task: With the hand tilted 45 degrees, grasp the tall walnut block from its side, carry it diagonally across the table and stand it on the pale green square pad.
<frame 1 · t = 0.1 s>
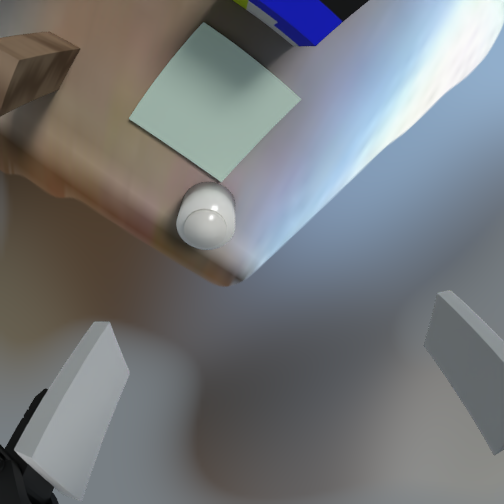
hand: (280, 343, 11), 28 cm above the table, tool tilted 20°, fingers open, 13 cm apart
walnut block: (53, 60, 23), on the table
pad: (212, 103, 30), on the table
sugar bowl: (208, 205, 39), on the table
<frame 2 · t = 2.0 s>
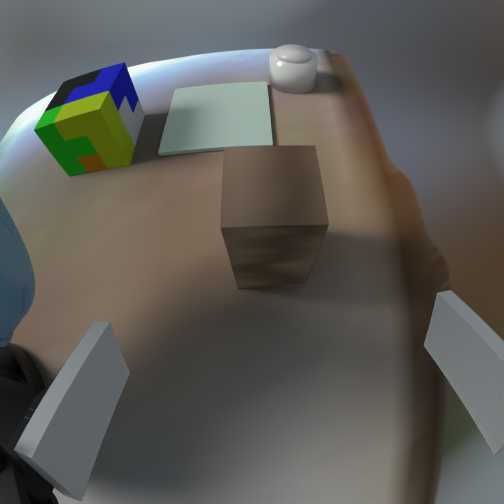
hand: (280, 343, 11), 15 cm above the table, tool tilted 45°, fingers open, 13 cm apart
puzzle toy: (107, 145, 36), on the table
walnut block: (269, 257, 28), on the table
pad: (217, 114, 37), on the table
sugar bowl: (292, 81, 40), on the table
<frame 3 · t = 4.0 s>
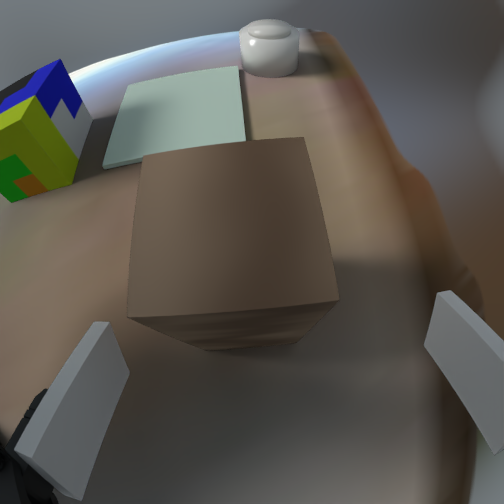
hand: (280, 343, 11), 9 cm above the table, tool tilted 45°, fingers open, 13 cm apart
puzzle toy: (51, 160, 27), on the table
walnut block: (247, 303, 20), on the table
pad: (176, 110, 28), on the table
sugar bowl: (269, 64, 31), on the table
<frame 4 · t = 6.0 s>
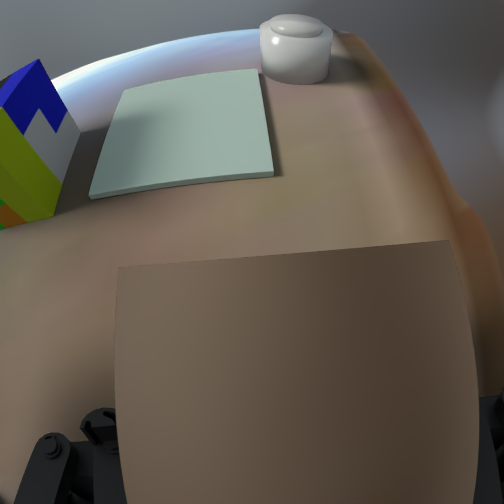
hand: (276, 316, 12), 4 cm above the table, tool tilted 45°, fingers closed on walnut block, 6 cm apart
puzzle toy: (32, 182, 22), on the table
walnut block: (279, 395, 14), on the table, touching gripper
pad: (182, 122, 23), on the table
sugar bowl: (294, 68, 26), on the table
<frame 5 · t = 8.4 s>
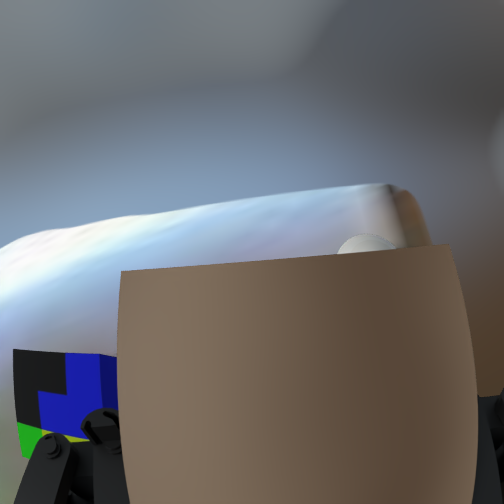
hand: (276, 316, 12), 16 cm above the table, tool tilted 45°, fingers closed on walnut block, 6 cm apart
puzzle toy: (111, 407, 25), on the table
walnut block: (279, 396, 14), point 12 cm above the table, touching gripper
sugar bowl: (356, 285, 30), on the table
when the fingers open (5 cm above the table, at t = 10.9 s): walnut block stays where it is, resting on pad.
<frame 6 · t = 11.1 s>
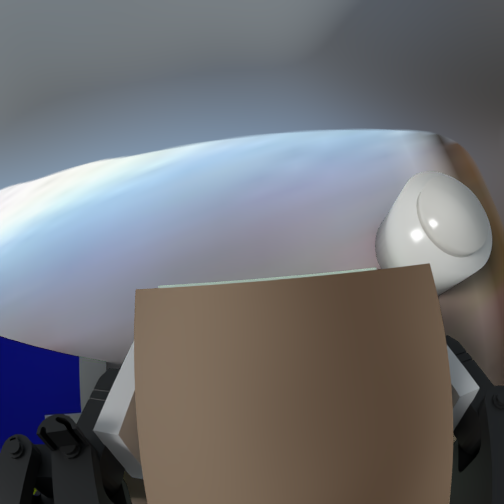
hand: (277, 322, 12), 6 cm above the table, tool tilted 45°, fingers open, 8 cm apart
puzzle toy: (57, 421, 15), on the table
walnut block: (278, 395, 15), point 1 cm above the table, touching pad
pad: (278, 393, 16), on the table
sugar bowl: (417, 252, 19), on the table
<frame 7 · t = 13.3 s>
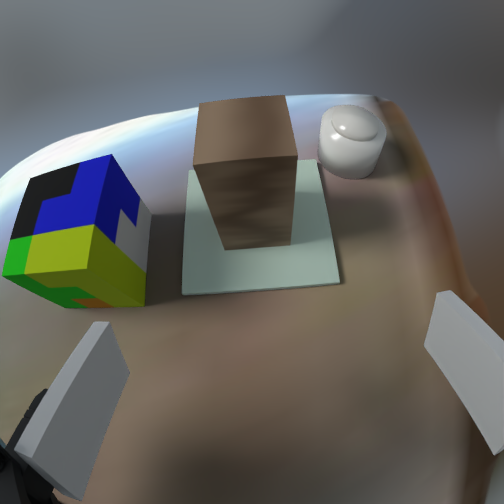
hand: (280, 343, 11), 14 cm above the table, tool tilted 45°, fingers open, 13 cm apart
puzzle toy: (107, 262, 29), on the table
walnut block: (255, 219, 28), point 1 cm above the table, touching pad
pad: (256, 221, 29), on the table
sugar bowl: (346, 156, 32), on the table
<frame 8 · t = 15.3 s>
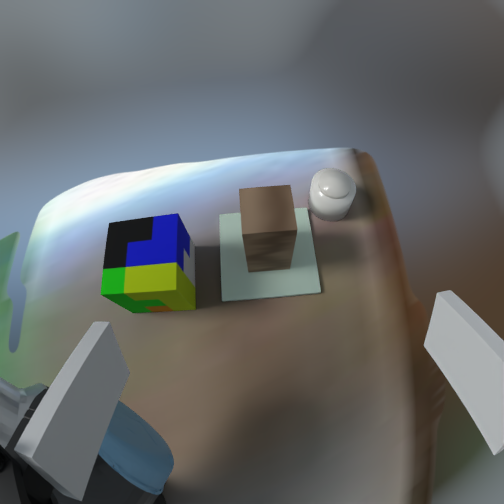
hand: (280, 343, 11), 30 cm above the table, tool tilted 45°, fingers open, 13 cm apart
puzzle toy: (164, 280, 44), on the table
walnut block: (267, 251, 44), point 1 cm above the table, touching pad
pad: (267, 252, 44), on the table
sugar bowl: (328, 203, 48), on the table
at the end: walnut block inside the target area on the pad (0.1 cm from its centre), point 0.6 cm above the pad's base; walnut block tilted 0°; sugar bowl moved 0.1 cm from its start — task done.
